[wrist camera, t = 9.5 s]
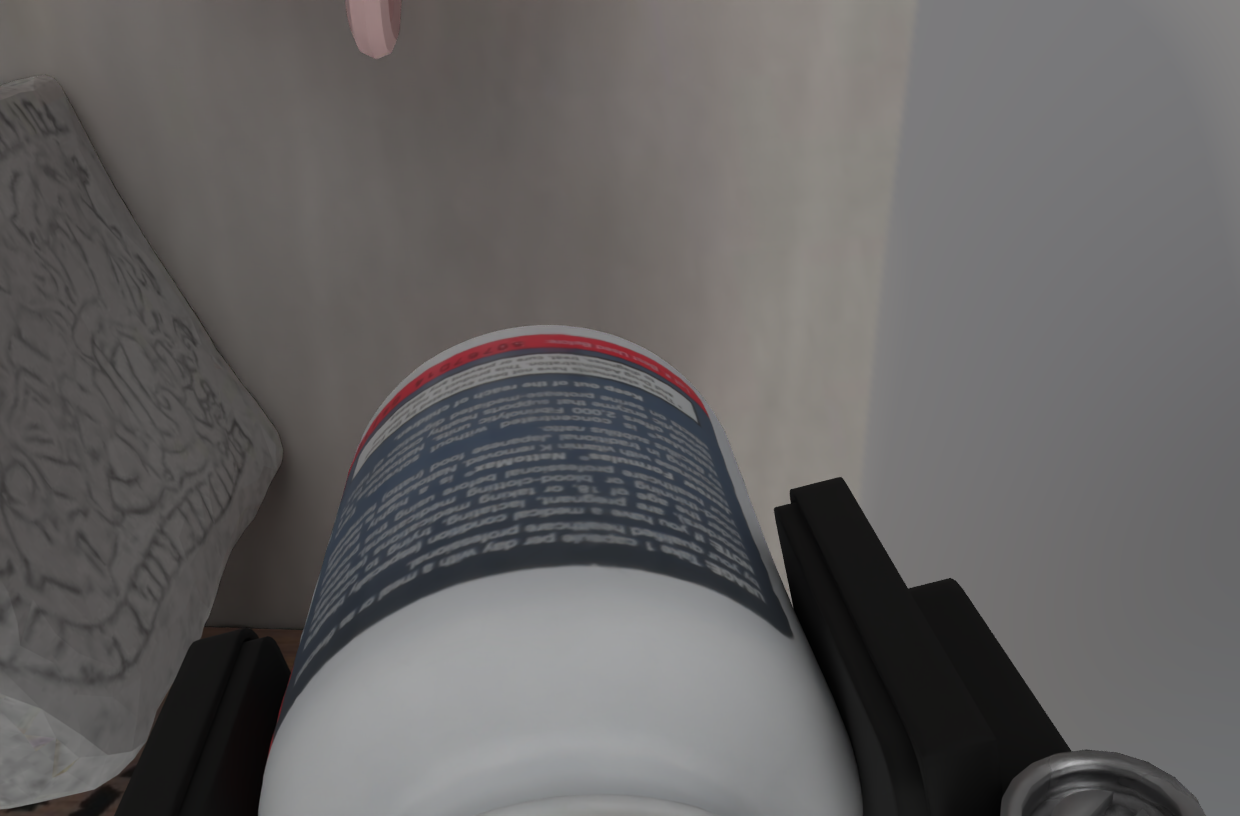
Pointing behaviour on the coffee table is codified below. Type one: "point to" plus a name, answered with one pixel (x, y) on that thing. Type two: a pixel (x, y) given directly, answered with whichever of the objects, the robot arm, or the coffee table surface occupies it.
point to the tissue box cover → (97, 807)
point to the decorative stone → (101, 462)
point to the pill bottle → (552, 608)
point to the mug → (374, 25)
